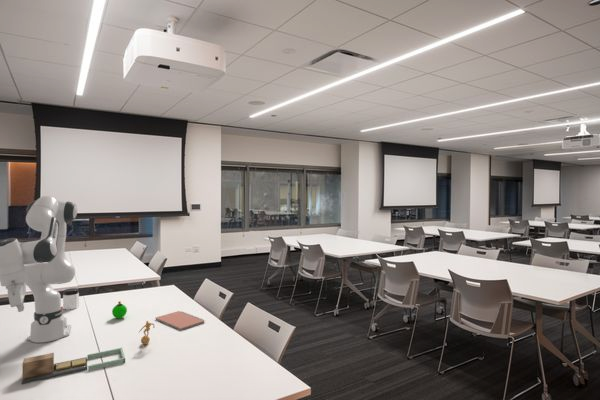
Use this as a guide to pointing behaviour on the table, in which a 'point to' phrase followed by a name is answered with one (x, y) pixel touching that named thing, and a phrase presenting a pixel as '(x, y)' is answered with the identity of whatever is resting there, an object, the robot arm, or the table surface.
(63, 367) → the brass chip
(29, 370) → the brown wooden block
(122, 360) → the tray
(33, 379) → the slot bed
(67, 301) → the jar
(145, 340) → the figurine
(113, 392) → the table surface
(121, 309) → the ornament
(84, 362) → the brass chip
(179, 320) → the notebook
